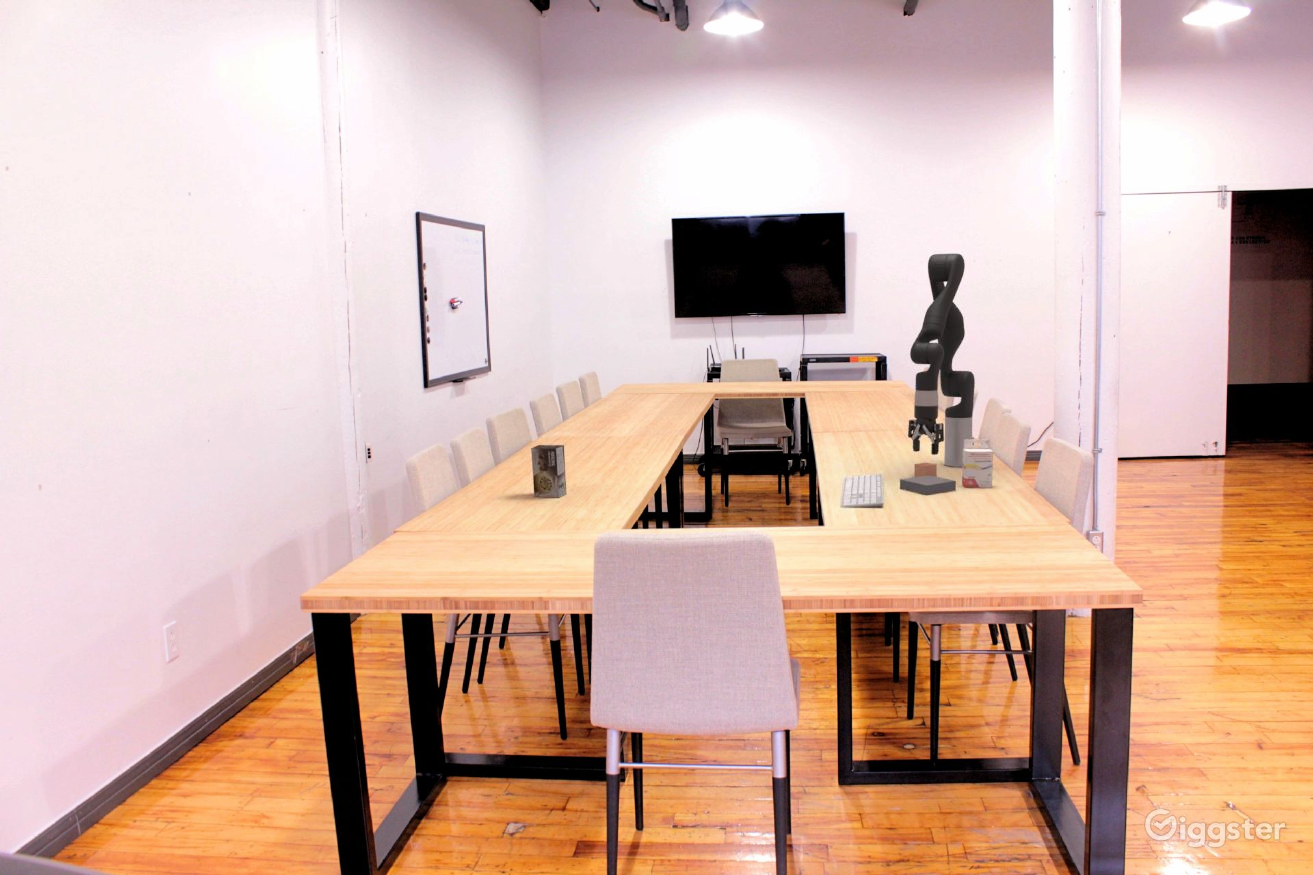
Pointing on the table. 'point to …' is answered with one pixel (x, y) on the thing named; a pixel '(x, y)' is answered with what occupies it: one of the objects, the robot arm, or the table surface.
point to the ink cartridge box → (977, 463)
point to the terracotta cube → (925, 469)
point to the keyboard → (862, 491)
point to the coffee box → (548, 470)
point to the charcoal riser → (927, 484)
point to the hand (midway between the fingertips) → (925, 452)
